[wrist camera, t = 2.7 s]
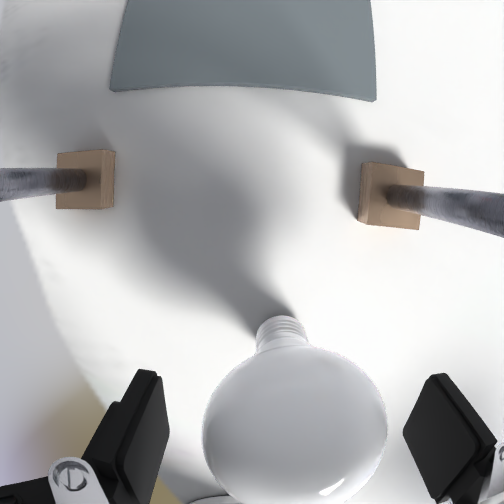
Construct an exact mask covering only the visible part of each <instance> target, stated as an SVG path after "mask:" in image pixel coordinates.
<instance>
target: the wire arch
mask: <svg viewBox="0 0 504 504" xmlns="http://www.w3.org/2000/svg"><path fill="white" fill-rule="evenodd" d="M114 168H115V152H114V151H109V150H103V149H102V150H89V151H78V152H67V153H58V154H57V168H1V169H0V202H1V201H7V200H14V199H21V198H28V197H35V196H43V195H52V194H56V209H104V208H109V207H113V199H114ZM423 184H424V171H419V170H414V169H409V168H404V167H399V166H393V165H387V164H382V163H376V162H369V163H362V169H361V184H360V196H359V207H358V217H357V221H359V222H362V223H364V224H367V225H377V226H386V227H396V228H405V229H414V230H419V224H420V216H421V215H423V216H427V217H431V218H435V219H439V220H443V221H447V222H451V223H454V224H458V225H462V226H465V227H469V228H473V229H476V230H480V231H483V232H486V233H490V234H493V235H497V236H500V237H503V238H504V194H500V193H492V192H483V191H474V190H464V189H453V188H441V187H427V186H423Z"/></svg>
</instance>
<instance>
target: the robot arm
mask: <svg viewBox="0 0 504 504" xmlns="http://www.w3.org/2000/svg"><path fill="white" fill-rule="evenodd" d="M403 436H404V439H405V441H406V443H407V445H408V447H409V449H410V451H411V454H412V456H413V458H414V460H415V462H416V465H417V467H418V469H419V471H420V473H421V476H422V478H423V480H424V482H425V485H426V487H427V489H428V492H429V494H430V496H431V498H433V499H435V501H436V504H439V503H442V502H445V501H447V500H449V499H450V498H451V500H452V503H451V504H504V443H501V444H500V445H498V447H497V448H495V446H494V445H495V444H496V443H497V440H496V438H495V437H494V435H493V434H492V433H491V431H490V430H489V428H488V427H487V426H486V424H485V423H484V422H483V420H482V419H481V418H480V416H479V415H478V414H477V412H476V411H475V410H474V408H473V407H472V406H471V404H470V403H469V402H468V400H467V399H466V398H465V396H464V395H463V394H462V393H461V391H460V390H459V389H458V388H457V386H456V385H455V384H454V382H453V381H452V380H451V379H450V377H449V376H448V375H447V374H446V373H440V374H433V375H431V376H430V377H429V379H427V380H426V382H425V384H424V386H423V388H422V391H421V393H420V395H419V397H418V400H417V402H416V404H415V406H414V408H413V410H412V412H411V414H410V416H409V418H408V420H407V422H406V424H405V426H404V428H403ZM168 438H169V423H168V417H167V411H166V404H165V397H164V390H163V382H162V377H161V376H157V373H156V372H155V371H149V370H143V369H138V371H137V372H136V374H135V376H134V378H133V380H132V381H131V383H130V385H129V387H128V389H127V391H126V392H125V394H124V396H123V398H122V400H121V402H116V401H114V402H113V403H112V404H111V405H110V407H109V408H108V410H107V412H106V414H105V415H104V417H103V419H102V421H101V423H100V425H99V426H98V428H97V430H96V432H95V434H94V436H93V437H92V439H91V441H90V443H89V445H88V447H87V448H86V450H85V452H84V454H83V456H82V458H81V459H79V458H75V457H64V458H61V459H58V460H57V461H56V462H54V463H53V464H52V465H51V467H50V468H49V472H48V476H47V477H43V478H38V479H34V480H30V481H25V482H21V483H16V484H10V485H5V486H1V487H0V504H149V503H150V499H151V495H152V492H153V489H154V485H155V482H156V478H157V475H158V472H159V468H160V465H161V461H162V458H163V455H164V451H165V448H166V445H167V442H168ZM190 504H241V503H240V502H238V501H237V500H235V499H234V498H233V497H231V496H217V497H210V498H204V499H200V500H197V501H194V502H192V503H190Z"/></svg>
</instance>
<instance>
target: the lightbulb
mask: <svg viewBox="0 0 504 504" xmlns="http://www.w3.org/2000/svg"><path fill="white" fill-rule="evenodd" d="M387 435H388V420H387V413H386V408H385V405H384V402H383V399H382V397H381V394H380V392H379V390H378V389H377V387H376V385H375V384H374V382H373V381H372V380H371V378H370V377H369V376H368V375H367V374H366V373H365V372H364V371H363V370H362V369H361V368H360V367H359V366H358V365H356V364H355V363H354V362H352V361H351V360H349V359H347V358H346V357H344V356H342V355H340V354H338V353H335V352H333V351H330V350H327V349H323V348H319V347H314V346H312V345H310V344H309V342H308V339H307V336H306V332H305V330H304V327H303V326H302V324H301V323H300V322H299V321H298V320H296V319H295V318H292V317H289V316H275V317H272V318H270V319H268V320H266V321H265V322H264V323H263V324H262V325H261V326H260V327H259V329H258V331H257V335H256V353H255V354H254V356H252V357H250V358H248V359H247V360H245V361H244V362H242V363H241V364H239V365H238V366H237V367H235V368H234V369H233V370H232V371H231V372H229V373H228V374H227V375H226V376H225V378H224V379H223V380H222V381H221V382H220V383H219V385H218V386H217V387H216V389H215V391H214V392H213V394H212V396H211V398H210V400H209V402H208V404H207V407H206V410H205V413H204V417H203V422H202V432H201V438H202V448H203V453H204V457H205V460H206V463H207V465H208V467H209V470H210V471H211V473H212V475H213V477H214V478H215V480H216V481H217V482H218V484H219V485H220V486H221V487H222V488H223V489H224V490H225V491H226V492H227V493H228V494H229V495H230V496H231V497H233V498H234V499H235V500H237V501H238V502H240V503H241V504H341V503H343V502H344V501H346V500H347V499H349V498H350V497H352V496H353V495H354V494H355V493H357V492H358V491H359V490H360V489H361V488H362V487H363V486H364V485H365V484H366V483H367V481H368V480H369V479H370V478H371V476H372V475H373V474H374V472H375V470H376V469H377V467H378V465H379V463H380V461H381V459H382V456H383V453H384V450H385V446H386V442H387Z"/></svg>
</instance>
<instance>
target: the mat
mask: <svg viewBox="0 0 504 504" xmlns="http://www.w3.org/2000/svg"><path fill="white" fill-rule="evenodd" d="M177 86H247V87H265V88H278V89H289V90H299V91H307V92H315V93H323V94H329V95H336V96H342V97H348V98H354V99H359V100H364V101H369V102H374V101H375V100H376V62H375V45H374V32H373V20H372V11H371V2H370V0H129V1H128V4H127V8H126V11H125V15H124V19H123V23H122V27H121V31H120V35H119V40H118V44H117V49H116V54H115V59H114V64H113V70H112V76H111V82H110V88H109V89H110V90H111V91H113V92H118V91H126V90H135V89H146V88H159V87H177Z"/></svg>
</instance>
